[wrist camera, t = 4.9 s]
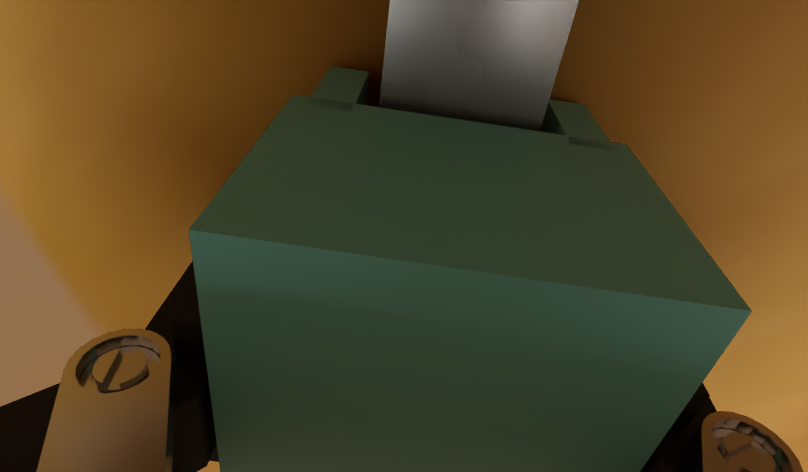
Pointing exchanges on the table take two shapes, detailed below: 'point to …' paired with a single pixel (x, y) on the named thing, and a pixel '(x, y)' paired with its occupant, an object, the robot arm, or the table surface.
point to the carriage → (448, 295)
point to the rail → (475, 58)
